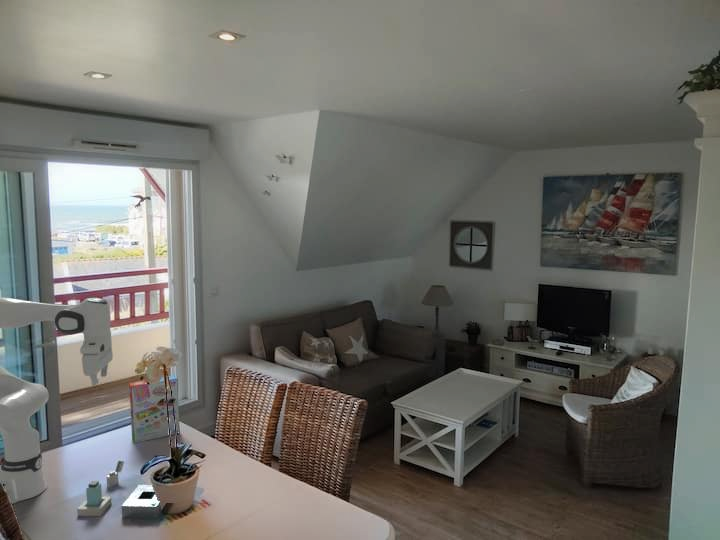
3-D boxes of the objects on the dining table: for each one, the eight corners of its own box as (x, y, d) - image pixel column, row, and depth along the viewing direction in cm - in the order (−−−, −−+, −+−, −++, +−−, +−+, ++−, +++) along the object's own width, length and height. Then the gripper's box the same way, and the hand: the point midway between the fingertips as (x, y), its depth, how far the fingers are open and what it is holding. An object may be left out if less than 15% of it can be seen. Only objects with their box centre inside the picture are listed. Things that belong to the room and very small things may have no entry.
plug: (87, 512, 185) (86, 485, 184) (92, 506, 188) (91, 480, 187) (97, 512, 185) (96, 485, 184) (102, 506, 188) (101, 480, 187)
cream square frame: (77, 515, 183) (77, 508, 182) (89, 502, 191) (89, 496, 190) (100, 516, 183) (100, 509, 182) (111, 503, 191) (111, 496, 190)
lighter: (109, 487, 201) (109, 468, 200) (106, 486, 202) (105, 467, 201) (125, 479, 207) (124, 460, 206) (121, 478, 208) (121, 459, 207)
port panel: (122, 518, 182) (121, 504, 181) (139, 496, 195) (138, 483, 195) (156, 518, 181) (156, 505, 181) (171, 496, 195) (171, 484, 195)
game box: (177, 429, 254) (175, 375, 251) (180, 433, 250) (178, 378, 246) (131, 439, 243) (128, 382, 240) (133, 443, 238) (130, 385, 235)
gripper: (98, 336, 199) (100, 371, 201) (78, 350, 179) (79, 389, 181) (116, 335, 200) (117, 371, 202) (97, 350, 180) (99, 389, 182)
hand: (99, 380), depth 191 cm, fingers open, 8 cm apart
